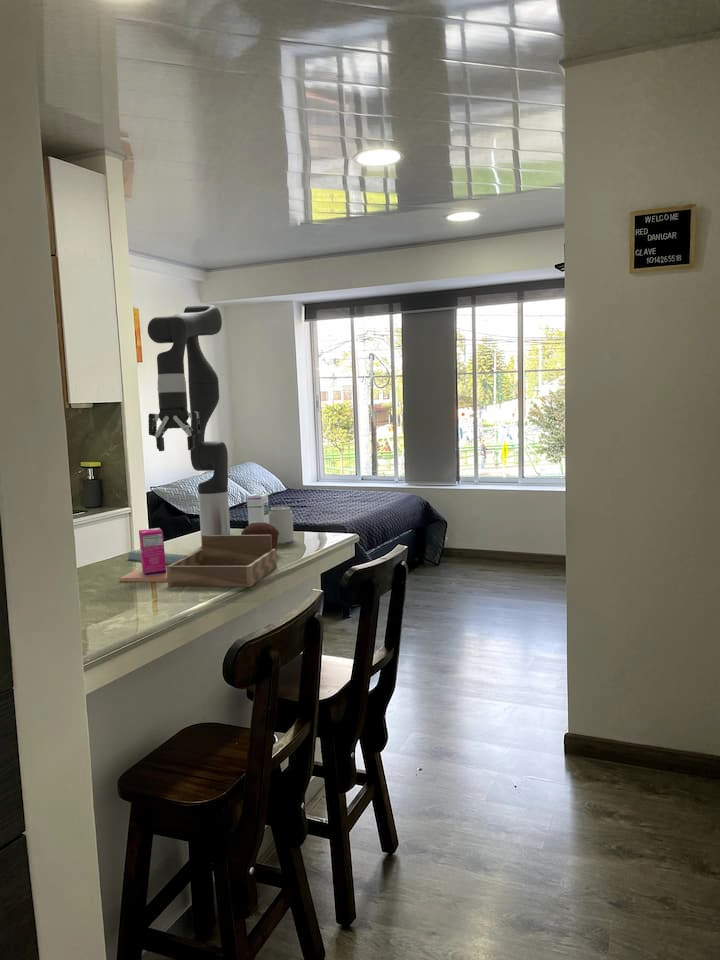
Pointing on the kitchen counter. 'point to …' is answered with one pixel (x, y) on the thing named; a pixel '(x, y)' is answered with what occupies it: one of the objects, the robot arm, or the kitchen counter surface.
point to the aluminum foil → (168, 557)
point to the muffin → (262, 531)
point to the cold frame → (225, 562)
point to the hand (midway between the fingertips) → (176, 450)
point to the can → (282, 523)
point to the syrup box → (258, 508)
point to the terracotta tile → (144, 577)
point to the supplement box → (152, 551)
